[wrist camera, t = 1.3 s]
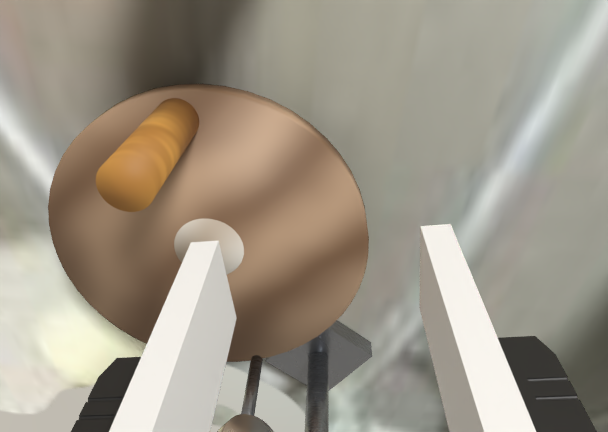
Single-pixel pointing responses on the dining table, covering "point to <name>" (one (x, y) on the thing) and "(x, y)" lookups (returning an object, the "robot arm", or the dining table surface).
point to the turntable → (211, 213)
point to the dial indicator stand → (307, 376)
